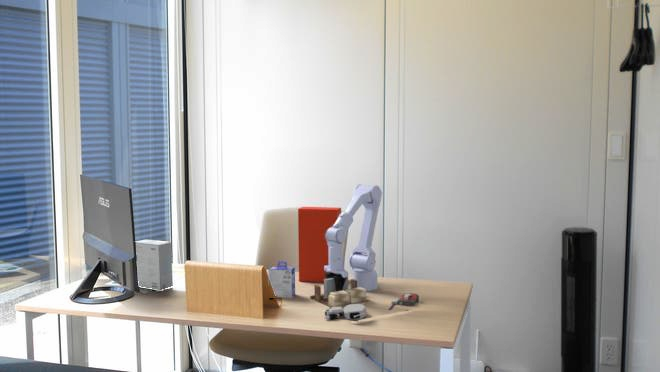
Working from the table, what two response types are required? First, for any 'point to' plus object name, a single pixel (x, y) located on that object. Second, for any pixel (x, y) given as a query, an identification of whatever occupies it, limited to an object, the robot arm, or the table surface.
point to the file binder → (314, 241)
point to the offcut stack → (347, 296)
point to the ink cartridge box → (282, 280)
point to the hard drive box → (154, 264)
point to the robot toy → (347, 312)
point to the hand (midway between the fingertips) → (336, 291)
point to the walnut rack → (325, 300)
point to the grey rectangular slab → (332, 286)
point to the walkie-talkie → (405, 300)
